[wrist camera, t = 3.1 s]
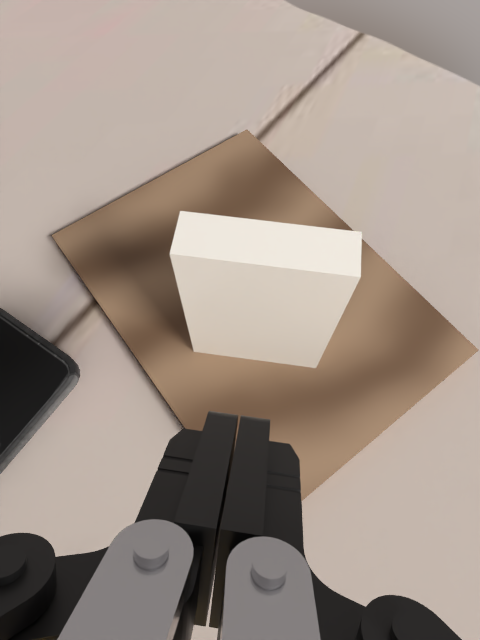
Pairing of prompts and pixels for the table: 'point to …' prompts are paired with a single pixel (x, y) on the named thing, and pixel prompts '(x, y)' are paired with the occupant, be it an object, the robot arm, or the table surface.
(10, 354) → the phone
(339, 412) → the board
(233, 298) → the block
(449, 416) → the table surface
